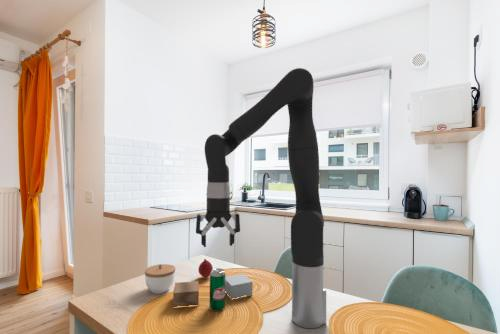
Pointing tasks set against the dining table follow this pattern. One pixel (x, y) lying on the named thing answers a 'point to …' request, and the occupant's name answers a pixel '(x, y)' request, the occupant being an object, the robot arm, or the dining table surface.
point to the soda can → (217, 289)
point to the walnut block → (186, 294)
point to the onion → (205, 268)
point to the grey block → (238, 286)
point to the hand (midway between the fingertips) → (217, 245)
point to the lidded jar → (159, 277)
